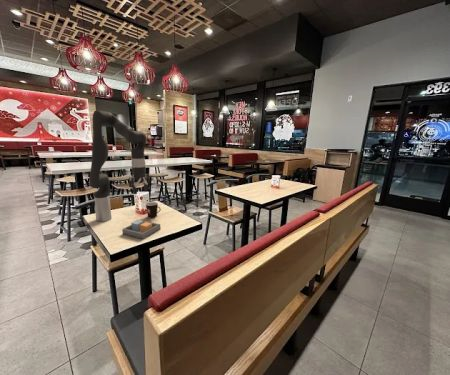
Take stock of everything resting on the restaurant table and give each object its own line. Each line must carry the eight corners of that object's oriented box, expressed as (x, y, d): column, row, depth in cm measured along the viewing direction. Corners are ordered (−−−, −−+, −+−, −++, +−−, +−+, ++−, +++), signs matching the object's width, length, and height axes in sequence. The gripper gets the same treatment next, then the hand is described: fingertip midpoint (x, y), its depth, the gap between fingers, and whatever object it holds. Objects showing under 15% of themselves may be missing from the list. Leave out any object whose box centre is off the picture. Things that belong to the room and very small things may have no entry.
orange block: (140, 232, 133) (139, 224, 132) (146, 229, 138) (145, 222, 137) (146, 233, 131) (146, 226, 130) (152, 230, 136) (151, 223, 135)
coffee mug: (144, 215, 162) (143, 203, 160) (155, 213, 168) (155, 201, 165) (150, 220, 154) (149, 207, 151) (162, 217, 159) (161, 205, 157)
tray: (122, 234, 132) (122, 229, 131) (141, 224, 146) (141, 220, 145) (142, 239, 126) (142, 234, 125) (160, 229, 140) (160, 224, 139)
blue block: (131, 230, 136) (131, 222, 135) (137, 227, 140) (137, 220, 139) (138, 231, 134) (137, 224, 133) (143, 228, 138) (143, 221, 137)
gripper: (142, 164, 134) (144, 189, 137) (124, 166, 121) (126, 194, 125) (152, 165, 131) (153, 190, 135) (134, 167, 118) (136, 196, 122)
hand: (140, 192), depth 130 cm, fingers open, 8 cm apart
